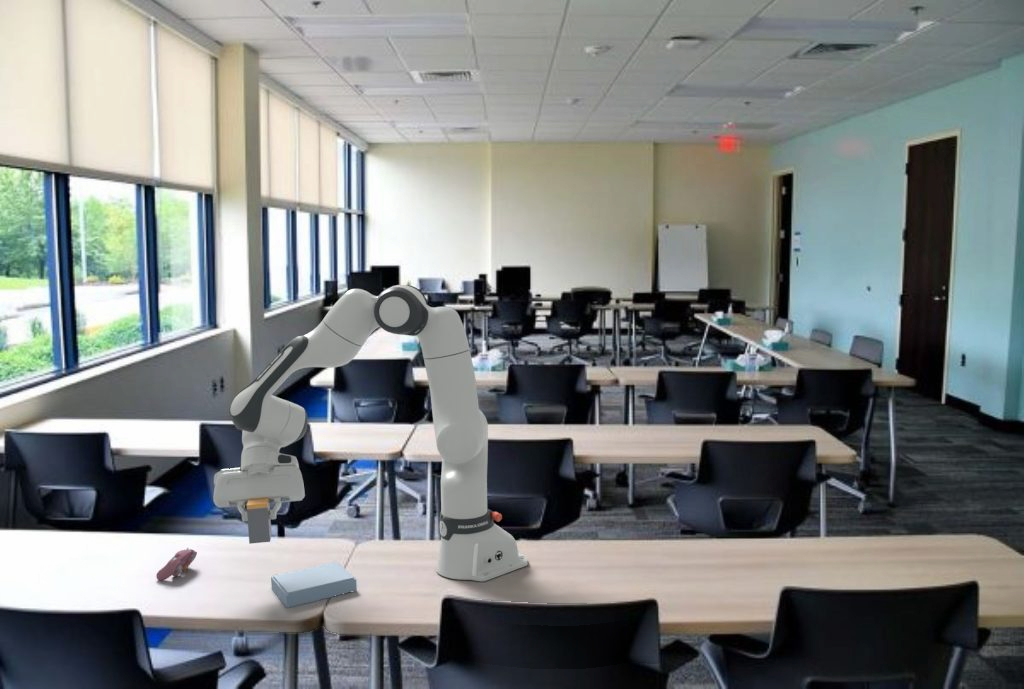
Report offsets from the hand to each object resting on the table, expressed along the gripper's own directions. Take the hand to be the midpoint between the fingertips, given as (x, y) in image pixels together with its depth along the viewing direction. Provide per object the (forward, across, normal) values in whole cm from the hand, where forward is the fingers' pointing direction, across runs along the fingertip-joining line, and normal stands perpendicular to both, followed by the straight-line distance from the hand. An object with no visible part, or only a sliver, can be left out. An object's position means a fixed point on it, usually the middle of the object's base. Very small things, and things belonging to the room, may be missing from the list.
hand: (259, 519), depth 189 cm
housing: (+3, 0, +4) cm, 5 cm away
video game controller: (+2, -21, +22) cm, 30 cm away
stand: (+14, +11, +10) cm, 20 cm away
